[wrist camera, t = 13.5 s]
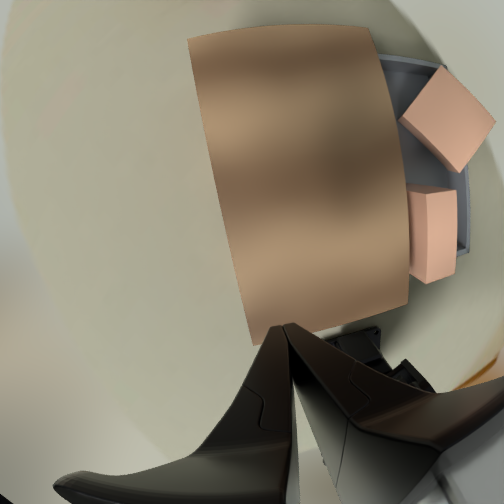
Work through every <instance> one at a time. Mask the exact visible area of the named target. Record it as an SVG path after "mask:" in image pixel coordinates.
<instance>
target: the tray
mask: <svg viewBox="0 0 504 504" xmlns="http://www.w3.org/2000/svg"><path fill="white" fill-rule="evenodd" d="M378 57H379V60H380V63H381V66H382V69H383V73H384V76H385V80H386V83H387V87H388V91H389V94H390V98H391V102H392V106H393V111H394V115H395V120H396V125H397V130H398V135H399V141H400V146H401V152H402V159H403V166H404V174H405V182H406V183H412V184H420V185H427V186H434V187H441V188H447V189H453V190H456V192H457V251H456V257H457V256H460V255H463V254H466V253H469V246H470V190H469V176H468V165H467V164H466V165H465V167H464V168H463V169H462V171H461V172H460V173H457V172H453V171H448V170H447V168H446V167H445V166H444V165H443V164H442V163H441V162H440V161H439V160H438V159H437V158H436V157H435V156H434V155H433V154H432V153H431V152H430V151H429V150H428V149H427V148H426V147H425V146H424V145H423V144H422V143H421V142H420V141H419V140H418V139H417V138H416V137H415V136H414V135H413V134H412V133H411V132H410V131H409V130H407V129H406V128H405V127H404V126H403V125H402V124H401V123H400V122H398V121H397V120H398V119H399V118H400V117H401V115H402V114H403V113H404V112H405V110H406V109H407V108H408V106H409V105H410V104H411V103H412V101H413V100H414V99H415V97H416V96H417V95H418V93H419V92H420V91H421V90H422V88H423V87H424V86H425V84H426V83H427V82H428V80H429V79H430V78H431V76H432V75H433V74H434V73H435V72H436V70H437V69H438V68H439V67H440V66H441V65H442V64H438V63H433V62H429V61H424V60H419V59H413V58H407V57H401V56H394V55H386V54H378ZM442 66H443V67H444V68H445V69H446V70H447V71H448V69H447V66H446V65H442Z"/></svg>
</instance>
